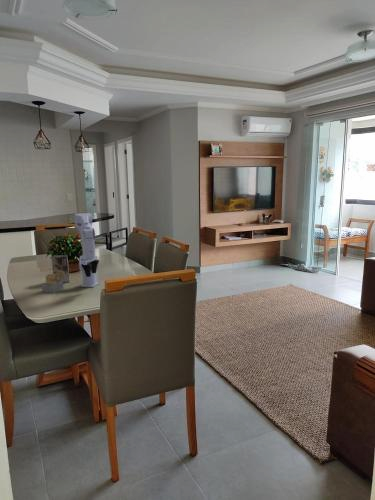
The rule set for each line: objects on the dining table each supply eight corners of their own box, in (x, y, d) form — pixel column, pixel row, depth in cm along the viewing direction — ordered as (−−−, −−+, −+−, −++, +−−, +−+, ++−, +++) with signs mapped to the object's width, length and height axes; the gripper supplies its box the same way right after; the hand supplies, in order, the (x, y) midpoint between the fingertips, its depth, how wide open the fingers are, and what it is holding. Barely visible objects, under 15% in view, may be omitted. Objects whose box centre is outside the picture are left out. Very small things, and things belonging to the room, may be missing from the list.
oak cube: (51, 282, 208) (50, 273, 207) (59, 282, 207) (58, 274, 206) (46, 284, 203) (45, 276, 202) (54, 285, 202) (54, 276, 201)
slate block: (52, 287, 210) (51, 281, 209) (63, 289, 207) (63, 282, 207) (42, 291, 203) (41, 285, 202) (53, 293, 200) (53, 286, 199)
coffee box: (69, 279, 227) (67, 254, 224) (69, 282, 221) (67, 256, 218) (54, 280, 224) (52, 255, 221) (53, 283, 218) (51, 257, 215)
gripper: (88, 248, 203) (89, 271, 206) (76, 253, 189) (78, 278, 192) (100, 248, 202) (101, 271, 205) (89, 253, 188) (91, 278, 191)
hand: (91, 274), depth 198 cm, fingers open, 7 cm apart
